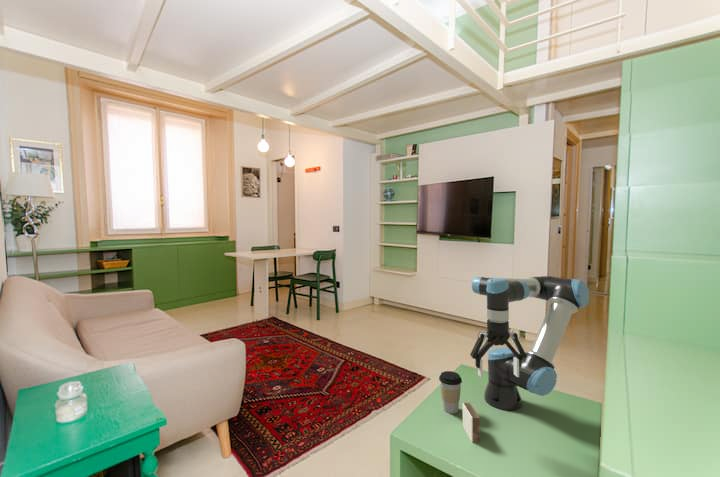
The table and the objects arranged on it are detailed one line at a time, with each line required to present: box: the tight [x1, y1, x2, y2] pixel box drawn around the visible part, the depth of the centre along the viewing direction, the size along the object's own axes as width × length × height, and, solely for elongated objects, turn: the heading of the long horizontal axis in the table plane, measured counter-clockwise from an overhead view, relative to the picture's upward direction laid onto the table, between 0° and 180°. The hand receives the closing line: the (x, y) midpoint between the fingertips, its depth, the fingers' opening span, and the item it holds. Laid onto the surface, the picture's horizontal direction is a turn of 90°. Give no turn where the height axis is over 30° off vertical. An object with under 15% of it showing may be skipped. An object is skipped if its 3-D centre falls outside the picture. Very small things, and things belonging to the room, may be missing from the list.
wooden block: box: [461, 402, 481, 443], centre depth 120 cm, size 3×10×9 cm, turn 0°
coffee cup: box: [438, 370, 463, 415], centre depth 136 cm, size 9×9×15 cm
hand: (498, 376), depth 120 cm, fingers open, 13 cm apart
